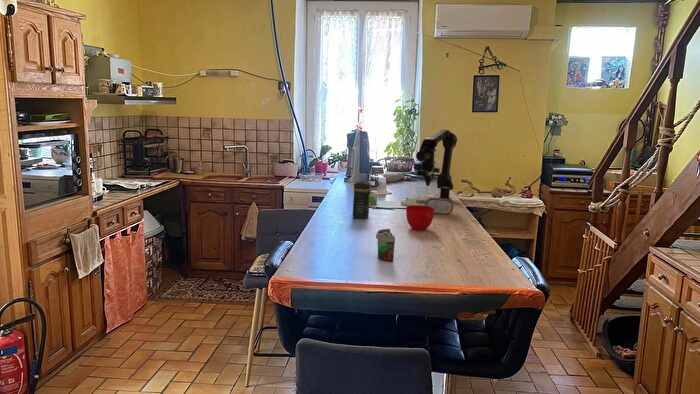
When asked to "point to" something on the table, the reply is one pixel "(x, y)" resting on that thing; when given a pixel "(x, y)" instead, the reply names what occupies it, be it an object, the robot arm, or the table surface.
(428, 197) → the tile
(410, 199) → the tile
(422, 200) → the plate
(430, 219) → the ceramic cup
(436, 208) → the tin
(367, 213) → the coffee jar
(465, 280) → the table surface
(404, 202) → the box
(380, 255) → the food container
